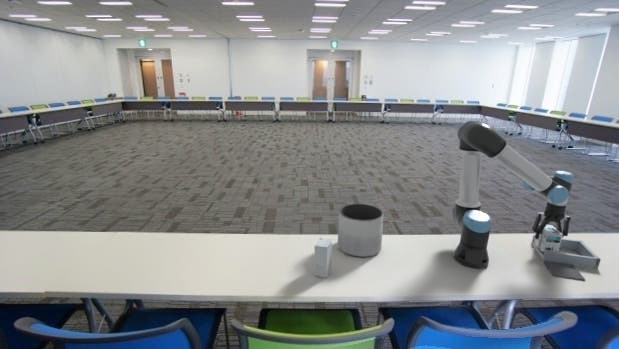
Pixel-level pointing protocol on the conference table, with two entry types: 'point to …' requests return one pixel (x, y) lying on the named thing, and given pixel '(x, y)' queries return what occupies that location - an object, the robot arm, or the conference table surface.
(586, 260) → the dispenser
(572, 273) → the mat
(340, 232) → the planter
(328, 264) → the skincare box
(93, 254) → the conference table surface
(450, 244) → the conference table surface
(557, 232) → the light bulb box
